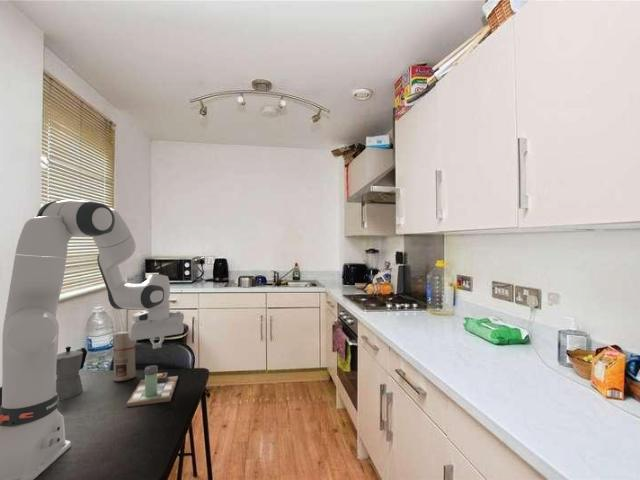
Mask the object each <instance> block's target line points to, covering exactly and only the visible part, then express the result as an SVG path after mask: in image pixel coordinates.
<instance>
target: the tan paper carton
mask: <svg viewBox="0 0 640 480" xmlns="http://www.w3.org/2000/svg"><path fill="white" fill-rule="evenodd" d="M112 344H113V346H112V349H113V382H123V381H128V380H131V379H134V378H135V377H136V376H137V375H136V340H133V341H132V340H130V339H129V331H117V332H115V334H114V335H113V343H112Z"/></svg>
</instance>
